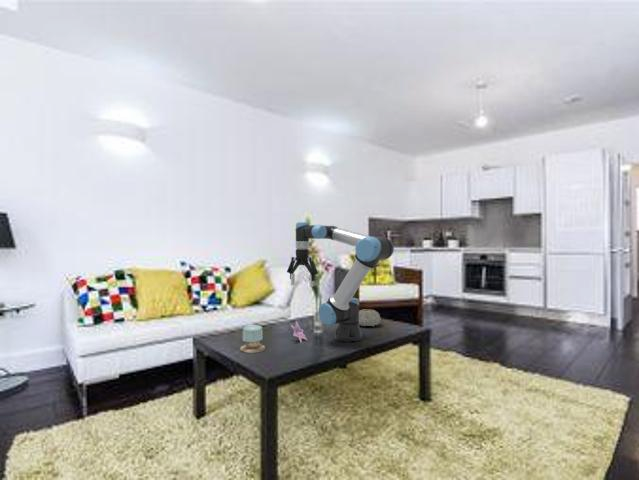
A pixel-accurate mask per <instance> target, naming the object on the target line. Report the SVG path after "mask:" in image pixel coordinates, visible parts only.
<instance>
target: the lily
mask: <svg viewBox="0 0 639 480" xmlns="http://www.w3.org/2000/svg"><path fill="white" fill-rule="evenodd" d="M290 326H291V328H292V329H293V334H292V335H293V336H292V337H291V339H290V341H292V340H293V338H294V337H297V338H298V340H299V343H302V339H304V340H306V341H308V339H307V337H306V335H305V334H304V329H303V328H301V327H300V324H299V322H298V321H297V320H295V326H294V325H292V324H291V325H290Z"/></svg>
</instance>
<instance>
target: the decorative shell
mask: <svg viewBox="0 0 639 480" xmlns="http://www.w3.org/2000/svg"><path fill="white" fill-rule="evenodd" d="M381 320H382V319H381V315H380V313H379V312H378V311H376V310H375V309H371V308H370V309H369V308H368V309H366V308H365V309H364V308H363V309H359V326H360V327H363V326H364V327H365V326H372V327H375V325H376V326H379V324H380V323H381Z"/></svg>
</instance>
